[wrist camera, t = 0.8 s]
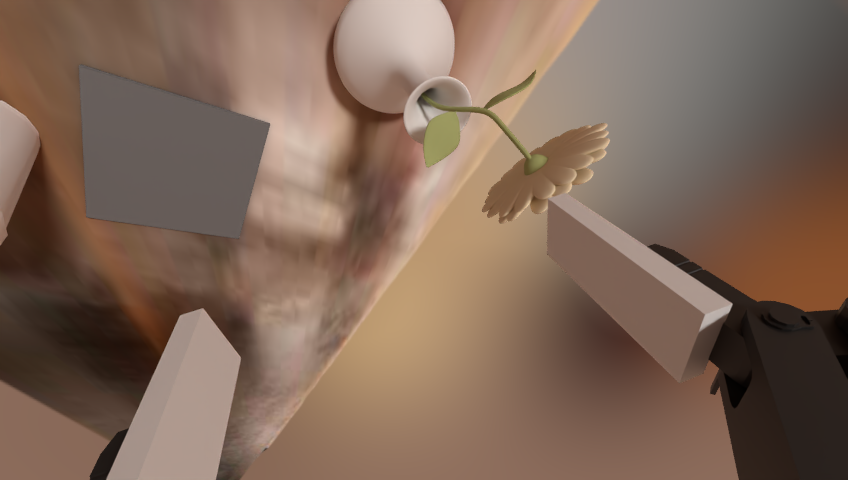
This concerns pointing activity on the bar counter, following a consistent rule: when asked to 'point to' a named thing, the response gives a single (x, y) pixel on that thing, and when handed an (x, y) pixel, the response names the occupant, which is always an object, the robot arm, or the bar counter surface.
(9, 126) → the foam cup
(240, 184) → the mat
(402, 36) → the flower in vase
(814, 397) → the robot arm
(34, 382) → the bar counter surface
